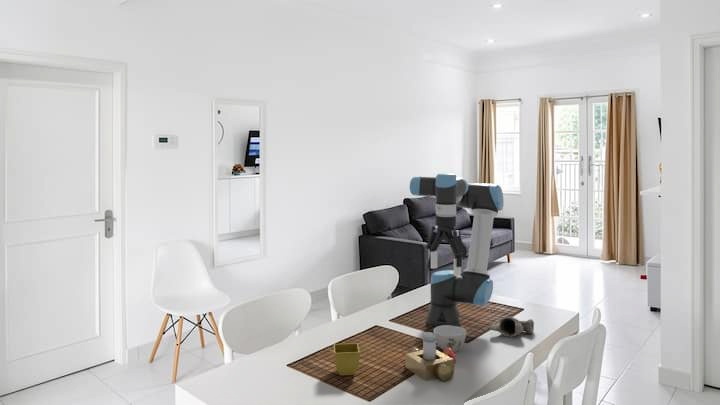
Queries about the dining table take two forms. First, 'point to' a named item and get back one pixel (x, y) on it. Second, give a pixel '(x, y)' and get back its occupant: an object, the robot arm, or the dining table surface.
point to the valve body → (431, 364)
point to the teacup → (450, 337)
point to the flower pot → (346, 358)
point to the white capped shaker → (429, 346)
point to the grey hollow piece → (513, 326)
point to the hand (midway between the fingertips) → (445, 271)
